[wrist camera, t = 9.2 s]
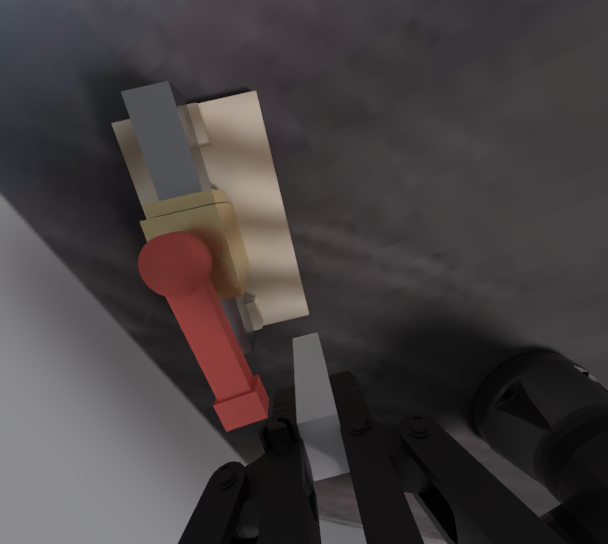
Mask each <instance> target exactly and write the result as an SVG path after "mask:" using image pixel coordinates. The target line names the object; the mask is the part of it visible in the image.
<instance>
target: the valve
mask: <svg viewBox="0 0 608 544" xmlns="http://www.w3.org/2000/svg"><path fill="white" fill-rule="evenodd" d="M121 94H122V96H123V99H124V102H125V105H126V108H127V111H128V114H129V116H130V119H131V122H132V125H133V128H134V131H135V134H136V136H137V139H138V142H139V145H140V148H141V151H142V153H143V156H144V159H145V162H146V165H147V168H148V171H149V173H150V176H151V179H152V182H153V185H154V188H155V190H156V193H157V196H158V199H159V201H158V202H154V203H149V204H145V205H143V208H144V210H145V213H146V216H147V218H151V219H147V220H143V221H139V222H140V224H141V227H142V230H143V232H144V235H145V238H146V240H147V242H148V241H149V240H151V239H153V238H155V237H157V236H160V235H164V234H167V233H170V232H175V231H183V232H188V233H191V234H194V235H195V236H197V237H199V238H200V239H201V240H202V241H203V242H204V243H205V244H206V245H207V247H208V248H209V250H210V252H211V256H212V270H211V273H210V275H209V278H210V280H211V283H212V285H213V287H214V289H215V292H216V294H217V296H218V298H219V301H220V303H221V305H222V307H223V310H224V312H225V314H226V316H227V319H228V321H229V323H230V325H231V328H232V330H233V332H234V334H235V337H236V339H237V341H238V343H239V346H240V348H241V350H242V352H243V354H248V353H252V351H253V346H254V341H255V331H254V328H253V324H252V321H251V318H250V314H249V311H248V308H247V304H246V301H245V298H244V292H245V290H246V287H247V285H248V283H249V280H250V276H249V272H248V269H249V267H250V263H249V259H248V256H247V252H246V249H245V245H244V242H243V238H242V235H241V231H240V228H239V224H238V221H237V217H236V214H235V210H234V207H233V203H227V202H228V199H227V196H226V192H225V191H220V190H214V189H212V187H211V184H210V181H209V177H208V174H207V171H206V167H205V164H204V161H203V157H202V154H201V150H200V147H199V144H198V140H197V137H196V134H195V130H194V127H193V124H192V120H191V117H190V114H189V110H188V107H187V104H186V100H185V98H184V96H183V95H182V94H181V93H180V92H179V91H178V90H177V89H176V88H175V87H174V86H173V85H172V84H171V83H170V82H169V81H165V82H161V83H156V84H152V85H147V86H143V87H138V88H134V89H130V90H125V91H121ZM154 217H156V218H154Z"/></svg>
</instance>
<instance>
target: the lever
mask: <svg viewBox="0 0 608 544" xmlns="http://www.w3.org/2000/svg"><path fill="white" fill-rule="evenodd" d="M138 268H139V272H140V275H141V277H142V279H143V281H144V282H145V283H146V285H147V286H148V287H149V288H150V289H152V290H153V291H154V292H156V293H158V294H160V295H162V296H165V297H166V299H167V301H168V303H169V305H170V307H171V309H172V311H173V313H174V315H175V317H176V319H177V321H178V323H179V325H180V327H181V329H182V331H183V333H184V335H185V337H186V339H187V341H188V343H189V345H190V347H191V349H192V351H193V353H194V355H195V357H196V359H197V361H198V363H199V365H200V367H201V369H202V371H203V373H204V375H205V377H206V379H207V381H208V383H209V385H210V387H211V389H212V391H213V393H214V395H215V397H216V399H215V402H214V405H213V407H214V409H215V411H216V413H217V415H218V417H219V418H220V420H221V422H222V424H223V426H224V428H225V430H226V432H227V431H230V430H233V429H236V428H239V427H242V426H245V425H248V424H251V423H254V422H257V421H260V420H263V419H266V418H268V407H269V398H268V395H267V393H266V391H265V389H264V386H263V384H262V382H261V380H260V377H259V375H258V374H257V375H255V376H253V375H252V372H251V370H250V368H249V366H248V363H247V361H246V359H245V357H244V354H243V352H242V350H241V348H240V346H239V343H238V341H237V339H236V337H235V334H234V332H233V330H232V328H231V325H230V323H229V321H228V319H227V316H226V314H225V312H224V310H223V307H222V305H221V303H220V301H219V298H218V296H217V294H216V292H215V289H214V287H213V285H212V283H211V280H210V278H209V275H210V273H211V270H212V256H211V252H210V250H209V248H208V247H207V245H206V244H205V243H204V242H203V241H202V240H201V239H200V238H199V237H197V236H195V235H194V234H191V233H188V232H183V231H175V232H170V233H167V234H164V235H160V236H157V237H155V238H153V239H151V240H149V241H148V242H147V243H146V244H145V245H144V246H143V248H142V249H141V252H140V254H139V258H138Z"/></svg>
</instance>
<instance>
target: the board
mask: <svg viewBox="0 0 608 544" xmlns="http://www.w3.org/2000/svg"><path fill="white" fill-rule="evenodd" d="M187 107H188V110H189V114H190V117H191V120H192V124H193V127H194V130H195V134H196V137H197V140H198V144H199V147H200V150H201V154H202V157H203V161H204V164H205V167H206V171H207V174H208V177H209V181H210V184H211V187H212V189H214V190H220V191H225V192H226V196H227V199H228V202H227V203H233V207H234V210H235V214H236V217H237V221H238V224H239V228H240V231H241V235H242V238H243V242H244V245H245V249H246V252H247V256H248V259H249V263H250V267H249V269H248V272H249V276H250V280H249V283H248V285H247V287H246V290H245V292H244V298H245V301H246V304H247V308H248V311H249V314H250V318H251V321H252V324H253V328H254V331H255V330H259V329H262V326H264V325H268V324H272V323H277V322H281V321H285V320H289V319H293V318H298V317H302V316H306V315H309V312H308V308H307V303H306V299H305V295H304V291H303V287H302V282H301V278H300V274H299V270H298V266H297V261H296V257H295V253H294V249H293V244H292V240H291V236H290V232H289V228H288V223H287V219H286V215H285V211H284V207H283V202H282V198H281V194H280V190H279V185H278V181H277V177H276V173H275V169H274V164H273V160H272V156H271V152H270V148H269V143H268V139H267V135H266V131H265V126H264V122H263V118H262V114H261V110H260V105H259V101H258V97H257V93H256V91H251V92H247V93H242V94H238V95H233V96H229V97H225V98H220V99H216V100H211V101H207V102H203V103H198V104H197V103H191V104H187ZM111 124H112V127H113V129H114V132H115V135H116V137H117V140H118V143H119V146H120V148H121V151H122V154H123V156H124V159H125V162H126V165H127V167H128V170H129V173H130V175H131V178H132V181H133V184H134V186H135V189H136V192H137V194H138V197H139V200H140V203H141V205H142V208H143V205H145V204H149V203H154V202H158V201H159V199H158V196H157V193H156V190H155V188H154V185H153V182H152V179H151V176H150V173H149V171H148V168H147V165H146V162H145V159H144V156H143V153H142V151H141V148H140V145H139V142H138V139H137V136H136V134H135V131H134V128H133V125H132V122H131V119H127V120H123V121H118V122H114V123H111ZM143 211H144V213H145V210H144V208H143ZM145 216H146V213H145ZM154 218H156V217H154ZM146 219H151V218H147V216H146Z"/></svg>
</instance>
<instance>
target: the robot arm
mask: <svg viewBox="0 0 608 544" xmlns="http://www.w3.org/2000/svg"><path fill="white" fill-rule="evenodd" d="M293 355H294V375H295V385H294V386H290V387H286V388H282V389H278V391H277V392H276V394H275V396H274V398H273V414H272V418H270V419H269V420H267V421H266V422H265V423H264V424H263V425H262V427H261V429H260V432H259V435H260V438H261V441H262V444H263V447H264V450H265V453H264V454H263V455H262V456H261V457H260V458H259V459H257V460H256V461H254V462H252V463H251V464H249V465H247V466H245V467H244V466H243V465H242V464H241V463H240V462H235V461H234V462H229V463H226V464H224V465H223V466H221V467H220V468H219V469H218V470H217V471H215V472H214V474H213V475H212V476H211V478H210V479H209V482H208V484H207V486H206V488H205V490H204V492H203V494H202V496H201V498H200V500H199V502H198V504H197V506H196V508H195V510H194V512H193V514H192V516H191V518H190V520H189V522H188V524H187V526H186V528H185V530H184V532H183V534H182V536H181V538H180V540H179V543H178V544H321V536H320V526H319V517H318V508H317V498H316V494H315V490H314V487H313V479H314V481H318V480H321V479H325V478H329V477H333V476H337V475H341V474H345V473H349V472H350V474H351V478H352V482H353V487H354V491H355V495H356V499H357V504H358V508H359V512H360V516H361V521H362V525H363V529H364V533H365V537H366V542H367V544H424V542H423V539H422V537H421V534H420V532H419V529H418V527H417V525H416V522H415V520H414V517H413V515H412V512H411V510H410V507H409V505H408V502H407V500H406V497H405V495H404V492H408V493H412V494H413V496H414V497H415V499H416V500H417V501H418V503H419V504H420V506H421V507H422V508H423V510H424V511H425V513H426V514H427V515H428V517H429V518H430V520H431V521H432V522H433V524H434V525H435V527H436V528H437V530H438V531H439V532H440V534H441V535H442V537H443V538H444V539H445V541H446V542H447V544H608V391H607V390H606V389H605V388H604V387H603V386H602V385H601V384H600V383H598V381H597V380H596V378H595V377H594V376H593V375H592V374H591V373H590V372H589V371H587V370H586V369H585V368H583V367H582V366H580V365H578V364H577V363H575V362H573V361H571V360H569V359H568V358H566V357H564V356H562V355H559V354H556V353H551V352H534V353H529V354H525V355H522V356H519V357H517V358H514V359H512V360H510V361H508V362H507V363H505V364H504V365H502V366H501V367H499V368H498V369H497V370H496V371H495V372H493V373H492V374H491V375H490V376H489V378H488V379H487V380H486V381H485V383H484V384H483V385H482V387H481V389H480V390H479V392H478V395H477V397H476V400H475V404H474V409H473V418H474V423H475V427H476V429H477V431H478V433H479V434H480V435H481V437H482V438H483V439H484V440H485V441H486V442H487V444H488V445H489V446H490V447H491V448H492V449H493V450H494V451H495V452H496V453H497V454H498V455H500V456H501V457H503V458H505V459H506V460H508V461H509V462H511V463H512V464H513V465H515V466H516V467H517V468H519V469H520V470H522V471H523V472H524V473H526V474H527V475H529V476H530V477H532V478H533V479H535V480H536V481H538V482H539V483H540V484H542V485H543V486H544V487H546V488H547V489H548V490H549V492H550V493H551V494H552V495H553V496H554V497H555V498H556V499H557V500H558V501H559V502H560V503H561V504H560V505H559V506H557V507H556V508H554V509H552V510H551V511H549V512H547V513H545V514H544V515H542V516H540V517H538V516H537V515H536V514H535V513H534V512H533V511H531V510H530V509H529V508H528V507H527V506H526V505H525V504H524V503H523V502H522V501H521V500H520V499H518V498H517V497H516V496H515V495H514V494H513V493H512V492H511V491H510V490H509V489H508V488H507V487H505V486H504V485H503V484H502V483H501V482H500V481H499V480H498V479H497V478H496V477H495V476H494V475H493V474H491V473H490V472H489V471H488V470H487V469H486V468H485V467H484V466H483V465H482V464H481V463H480V462H478V461H477V460H476V459H475V458H474V457H473V456H472V455H471V454H470V453H469V452H468V451H467V450H465V449H464V448H463V447H462V446H461V445H460V444H459V443H458V442H457V441H456V440H455V439H454V438H452V437H451V436H450V435H449V434H448V433H447V432H446V431H445V430H444V429H443V428H442V427H441V426H439V425H438V424H437V423H436V422H435V421H434V420H432V419H431V418H429V417H427V416H424V415H410V416H407V417H405V418H404V419H403V420H402V421H401V423H400V425H399V426H389V425H383V424H380V423H378V422H377V421H375V420H374V419H373V418H372V417H371V415H370V413H369V411H368V408H367V406H366V403H365V401H364V398H363V396H362V393H361V391H360V388H359V386H358V383H357V381H356V378H355V376H354V375H352V374H351V373H350V372H349V371H346V372H342V373H339V374H335V375H331V376H328V372H327V368H326V364H325V360H324V356H323V352H322V348H321V344H320V340H319V336H318V333H317V332H316V333H312V334H308V335H305V336H301V337H297V338H293ZM312 476H313V479H312Z"/></svg>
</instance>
